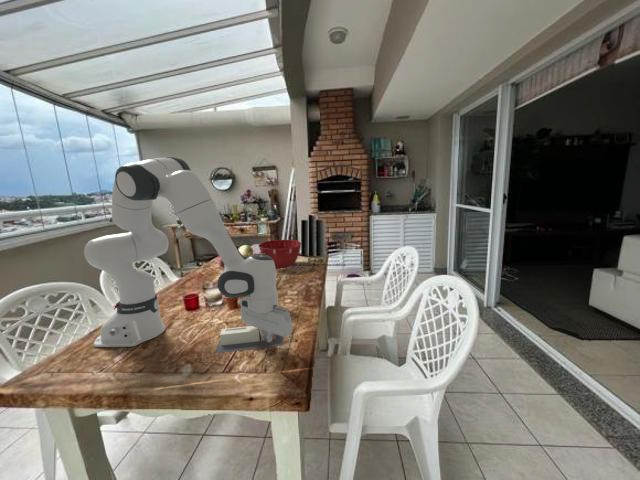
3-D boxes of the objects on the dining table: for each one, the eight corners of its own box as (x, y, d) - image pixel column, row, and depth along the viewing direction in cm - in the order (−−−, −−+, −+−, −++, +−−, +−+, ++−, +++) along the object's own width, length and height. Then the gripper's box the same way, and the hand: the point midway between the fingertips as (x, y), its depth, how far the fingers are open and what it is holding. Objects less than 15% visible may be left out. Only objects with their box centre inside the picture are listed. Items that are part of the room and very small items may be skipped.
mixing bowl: (311, 264, 193) (310, 242, 190) (277, 275, 173) (276, 250, 170) (284, 258, 213) (283, 238, 210) (251, 267, 192) (249, 244, 189)
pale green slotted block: (221, 345, 98) (219, 334, 97) (223, 339, 102) (221, 328, 101) (259, 341, 100) (258, 330, 99) (260, 335, 103) (259, 324, 103)
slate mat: (215, 354, 93) (215, 353, 93) (223, 331, 108) (223, 330, 108) (283, 346, 96) (283, 345, 96) (281, 325, 111) (281, 324, 111)
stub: (261, 340, 100) (260, 329, 99) (261, 334, 104) (260, 324, 103) (275, 339, 100) (274, 328, 100) (275, 333, 104) (274, 322, 103)
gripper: (295, 305, 91) (297, 344, 94) (250, 293, 102) (253, 329, 105) (282, 313, 86) (285, 354, 88) (236, 300, 97) (239, 337, 99)
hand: (267, 340), depth 97 cm, fingers closed
